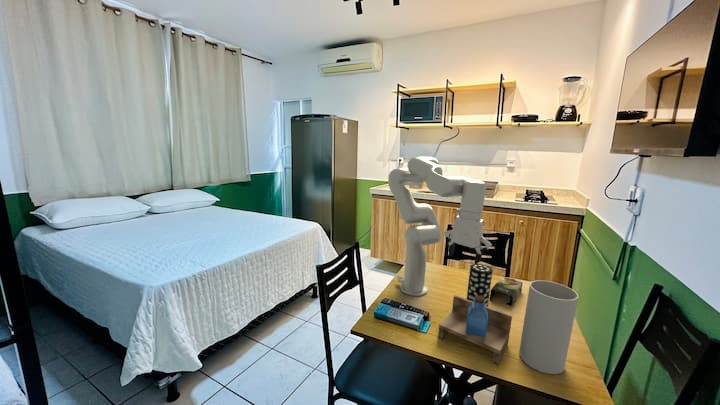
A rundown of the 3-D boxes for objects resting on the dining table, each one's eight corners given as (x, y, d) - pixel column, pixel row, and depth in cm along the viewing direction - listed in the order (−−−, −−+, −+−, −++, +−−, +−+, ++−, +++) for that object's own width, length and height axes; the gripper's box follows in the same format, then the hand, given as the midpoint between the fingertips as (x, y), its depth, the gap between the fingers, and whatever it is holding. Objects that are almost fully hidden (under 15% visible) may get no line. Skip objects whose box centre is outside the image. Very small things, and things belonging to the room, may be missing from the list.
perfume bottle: (485, 337, 95) (490, 304, 93) (465, 332, 98) (469, 300, 95) (485, 327, 101) (489, 295, 99) (466, 322, 103) (470, 291, 101)
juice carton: (500, 285, 146) (502, 273, 145) (522, 292, 140) (524, 280, 138) (488, 300, 131) (489, 288, 130) (511, 309, 125) (513, 296, 123)
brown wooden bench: (437, 338, 103) (440, 308, 101) (451, 322, 113) (454, 294, 111) (497, 366, 91) (502, 333, 88) (507, 345, 101) (512, 315, 98)
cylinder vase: (520, 367, 90) (532, 294, 86) (517, 343, 102) (527, 277, 97) (568, 381, 86) (583, 304, 81) (559, 354, 97) (572, 285, 92)
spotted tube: (488, 320, 115) (495, 273, 111) (466, 317, 116) (472, 270, 113) (484, 309, 123) (489, 265, 119) (463, 306, 124) (468, 262, 121)
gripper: (443, 211, 106) (437, 254, 110) (492, 222, 96) (484, 269, 100) (451, 208, 112) (446, 249, 116) (498, 218, 101) (490, 263, 105)
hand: (463, 258), depth 108 cm, fingers open, 9 cm apart
